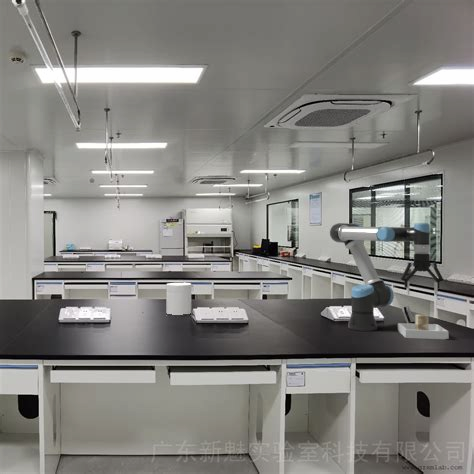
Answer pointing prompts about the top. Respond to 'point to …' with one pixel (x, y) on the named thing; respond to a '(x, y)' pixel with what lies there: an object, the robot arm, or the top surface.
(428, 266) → the robot arm
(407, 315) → the hinge
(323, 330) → the top surface
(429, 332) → the tray
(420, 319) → the tan cylinder
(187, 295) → the canister
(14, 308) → the top surface
